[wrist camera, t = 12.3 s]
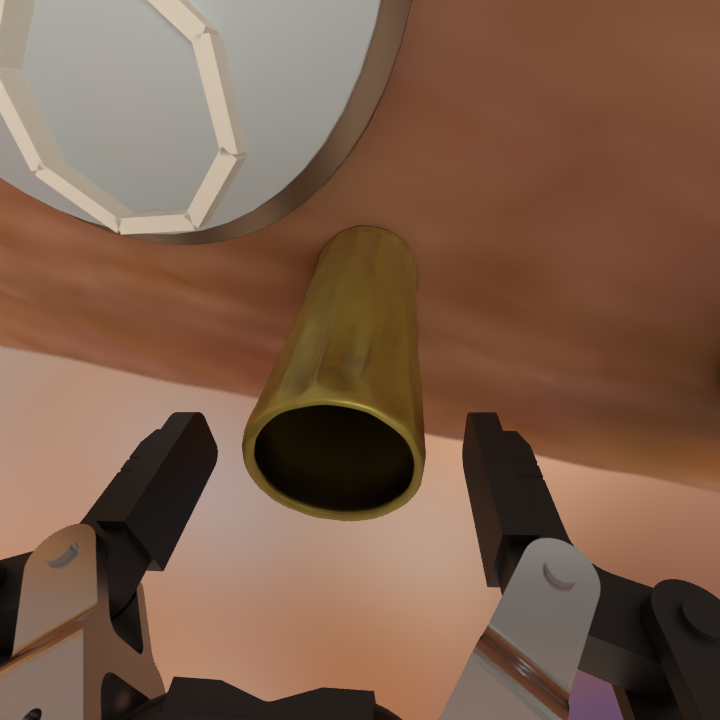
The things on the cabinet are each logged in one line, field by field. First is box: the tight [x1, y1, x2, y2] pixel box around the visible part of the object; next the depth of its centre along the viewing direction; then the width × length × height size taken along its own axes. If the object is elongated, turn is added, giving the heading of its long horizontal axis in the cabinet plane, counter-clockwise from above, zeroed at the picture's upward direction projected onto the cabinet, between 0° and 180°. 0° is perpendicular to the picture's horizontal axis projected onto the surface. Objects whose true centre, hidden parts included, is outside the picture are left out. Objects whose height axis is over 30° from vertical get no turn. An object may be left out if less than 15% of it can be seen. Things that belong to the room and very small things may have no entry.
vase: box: [242, 226, 426, 521], centre depth 16 cm, size 6×6×14 cm
